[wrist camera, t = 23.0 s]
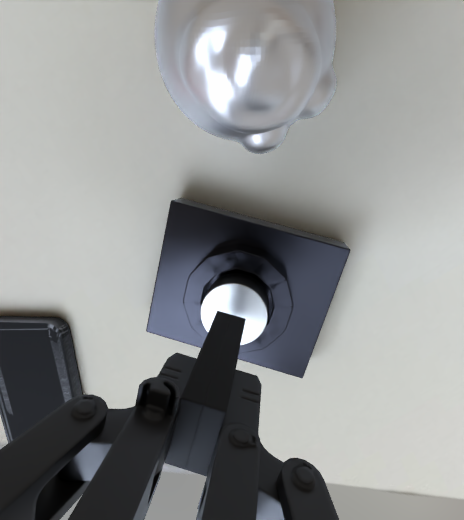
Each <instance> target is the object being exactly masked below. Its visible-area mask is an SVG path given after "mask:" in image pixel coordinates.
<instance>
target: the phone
mask: <svg viewBox="0 0 464 520" xmlns="http://www.w3.org/2000/svg"><path fill="white" fill-rule="evenodd" d="M80 395H82V390H81V384H80V379H79V374H78V369H77V364H76V359H75V354H74V349H73V343H72V338H71V333H70V329H69V326H68V325H67V323H66V322H65V321H64V320H62V319H60V318H57V317H18V316H0V415H1V419H2V422H3V426H4V429H5V433H6V437H7V440H8V444H9V443H10V442H11V441H13V440H14V439H15V438H17V437H18V436H20V435H21V434H22V433H24V432H25V431H27V430H28V429H29V428H31V427H32V426H33V425H35V424H36V423H38V422H39V421H40V420H42V419H43V418H44V417H46V416H47V415H49V414H50V413H51V412H53V411H54V410H55V409H57V408H58V407H60V406H61V405H62V404H64V403H65V402H66V401H68V400H70V399H72V398H74V397H76V396H80Z"/></svg>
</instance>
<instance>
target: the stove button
mask: <svg viewBox="0 0 464 520" xmlns="http://www.w3.org/2000/svg"><path fill="white" fill-rule="evenodd" d="M268 306H269V300H268V295H267V292H266V290H265V288H264V287H263V285H262V284H261V283H260V282H259V281H258V280H257V279H255V278H254V277H252V276H250V275H247V274H243V273H229V274H226V275H223V276H221V277H220V278H218V279H217V280H216V281H215V282H214V283H213V284H212V286H211V287H210V289H209V291H208V292H207V294H206V296H205V298H204V300H203V302H202V305H201V311H200V314H201V320H202V323H203V325H204V327H205V329H206V330H207V332H208V331H209V329H210V327H211V324H212V322H213V320H214V317H215V315H216V312H217V310H218V311H221V312H224V313H228V314H231V315H235V316H238V317H242V318H245V319H246V321H245V326H244V330H243V335H242V340H241V345H244V344H248V343H250V342H252V341H254V340H255V339H257V338H258V337H259V336H260V335H261V334H262V332H263V331H264V329H265V327H266V325H267V320H268Z"/></svg>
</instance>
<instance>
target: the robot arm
mask: <svg viewBox="0 0 464 520" xmlns="http://www.w3.org/2000/svg"><path fill="white" fill-rule="evenodd" d="M245 321H246V319H245V318H242V317H238V316H235V315H231V314H228V313H224V312H221V311H218V310H217V312H216V315H215V317H214V320H213V322H212V324H211V327H210V329H209V331H208V334H207V336H206V339H205V341H204V343H203V346H202V348H201V350H200V353H199V355H198V358H197V359H196V358H193V357H189V356H186V355H183V354H179V353H175V354H174V355H172V356H171V357H169V358H168V359H167V361H166V363H165V364H164V366H163V368H162V370H161V371H160V374H159V375H158V376H157V377H154V378H149V379H147V380H144V381H143V382H142V383H141V384H140V385H139V389H138V395H137V400H136V405H135V406H134V407H131V408H127V409H108V407H107V405H106V402H105V401H104V400H103V399H102V398H100V397H98V396H95V395H85V394H84V395H80V396H76V397H74V398H72V399H70V400H68V401H66V402H65V403H64V404H62V405H61V406H60V407H58V408H57V409H55V410H54V411H53V412H51V413H50V414H49V415H47V416H46V417H44V418H43V419H42V420H40V421H39V422H38V423H36V424H35V425H33V426H32V427H31V428H29V429H28V430H27V431H25V432H24V433H22V434H21V435H20V436H18V437H17V438H15V439H14V440H13V441H11V442H10V443H9V444H7V445H6V446H4V447H3V448H2V449H0V520H60V519H61V518H62V516H63V515H64V514H65V513H66V512H67V511H68V510H69V509H70V508H71V507H72V505H73V504H74V503H75V502H76V501H77V500H78V499H79V498H80V496H81V495H82V494H83V495H82V497H81V498H80V500H79V502H78V503H77V505H76V507H75V509H74V511H73V512H72V514H71V515H70V517H69V519H68V520H144V519H145V516H146V513H147V511H148V508H149V505H150V503H151V500H152V497H153V495H154V492H155V489H156V487H157V484H158V481H159V479H160V475H161V471H162V467H163V464H164V462H165V463H167V464H170V465H173V466H176V467H179V468H182V469H185V470H189V471H192V472H195V473H198V474H201V475H204V476H207V478H206V482H205V486H204V489H203V492H202V496H201V499H200V502H199V506H198V514H197V518H196V520H339V518H338V515H337V513H336V510H335V508H334V505H333V502H332V500H331V497H330V495H329V492H328V489H327V487H326V484H325V481H324V479H323V477H322V476H321V474H320V472H319V471H318V470H317V469H316V468H315V467H314V466H313V465H312V464H310V463H309V462H307V461H306V460H303V459H299V458H290V459H288V460H287V461H285V462H284V463H283V462H282V461H280V460H279V459H277V458H275V457H274V456H273V455H271V454H270V453H269V452H268V451H267V450H266V449H265V448H264V447H263V445H262V444H261V442H260V438H259V436H258V427H259V413H260V399H261V383H260V381H259V379H258V377H257V376H256V375H252V374H249V373H246V372H242V371H239V370H236V364H237V359H238V355H239V350H240V345H241V340H242V335H243V330H244V326H245Z"/></svg>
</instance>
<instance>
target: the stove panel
mask: <svg viewBox="0 0 464 520" xmlns="http://www.w3.org/2000/svg"><path fill="white" fill-rule="evenodd" d="M349 253H350V249H349V248H348V246H347V245H346V244H345V243H344V242H341V241H338V240H334V239H330V238H327V237H323V236H319V235H316V234H312V233H308V232H305V231H301V230H297V229H294V228H290V227H286V226H283V225H279V224H275V223H272V222H268V221H264V220H261V219H257V218H253V217H250V216H246V215H242V214H239V213H235V212H231V211H228V210H224V209H220V208H217V207H213V206H209V205H206V204H202V203H198V202H195V201H191V200H187V199H184V198H179V199H175V200H172V201H171V204H170V209H169V214H168V220H167V225H166V230H165V235H164V240H163V246H162V251H161V256H160V261H159V267H158V272H157V277H156V282H155V287H154V293H153V298H152V303H151V308H150V314H149V319H148V324H147V329H146V331H147V332H150V333H153V334H157V335H160V336H163V337H167V338H170V339H173V340H177V341H180V342H183V343H187V344H190V345H193V346H197V347H200V348H202V346H203V343H204V341H205V339H206V336H207V334H208V332H207V330H206V329H205V327H204V325H203V323H202V320H201V314H200V311H201V305H202V302H203V300H204V298H205V296H206V294H207V292H208V291H209V289H210V287H211V286H212V284H213V283H214V282H215V281H216V280H217V279H218V278H220V277H221V276H223V275H226V274H229V273H243V274H247V275H250V276H252V277H254V278H255V279H257V280H258V281H259V282H260V283H261V284H262V285H263V287H264V288H265V290H266V292H267V295H268V300H269V306H268V320H267V325H266V327H265V329H264V331H263V332H262V334H261V335H260V336H259V337H258V338H257V339H255V340H254V341H252V342H250V343H248V344H244V345H240V350H239V355H238V359H240V360H243V361H246V362H250V363H253V364H256V365H260V366H263V367H266V368H270V369H273V370H276V371H280V372H283V373H286V374H290V375H293V376H296V377H300V378H303V376H304V373H305V370H306V368H307V365H308V362H309V360H310V357H311V354H312V352H313V349H314V346H315V344H316V341H317V338H318V336H319V333H320V330H321V328H322V325H323V322H324V320H325V317H326V314H327V312H328V309H329V306H330V304H331V301H332V298H333V296H334V293H335V290H336V288H337V285H338V282H339V280H340V277H341V274H342V272H343V269H344V266H345V264H346V261H347V258H348V256H349Z"/></svg>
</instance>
